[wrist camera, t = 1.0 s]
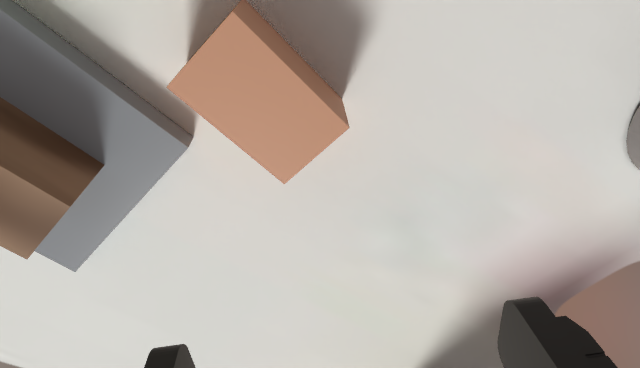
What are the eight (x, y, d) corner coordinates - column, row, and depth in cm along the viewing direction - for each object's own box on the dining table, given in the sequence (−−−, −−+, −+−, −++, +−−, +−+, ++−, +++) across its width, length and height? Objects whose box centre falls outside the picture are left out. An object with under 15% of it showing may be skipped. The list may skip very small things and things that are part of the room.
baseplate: (-38, -38, 20) (-61, -36, 19) (193, 137, 26) (188, 147, 25) (-128, 144, 25) (-150, 155, 24) (84, 258, 31) (74, 272, 30)
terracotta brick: (243, -3, 22) (232, 11, 18) (341, 98, 25) (349, 127, 22) (187, 62, 24) (166, 87, 20) (286, 148, 27) (284, 184, 23)
